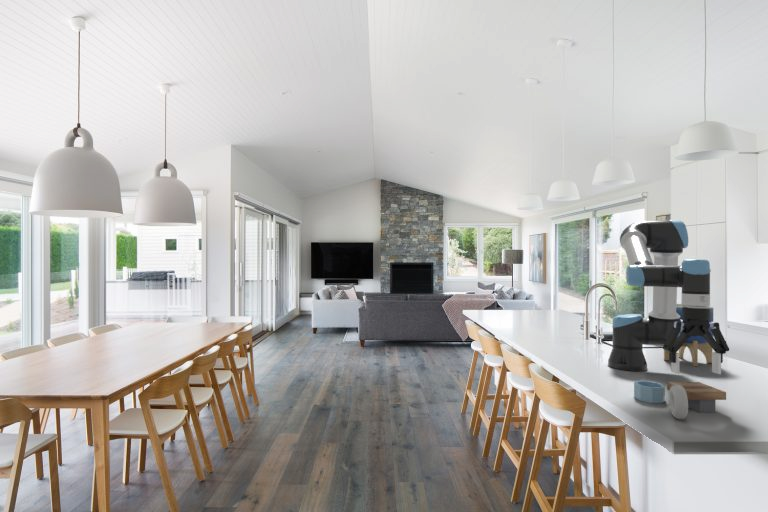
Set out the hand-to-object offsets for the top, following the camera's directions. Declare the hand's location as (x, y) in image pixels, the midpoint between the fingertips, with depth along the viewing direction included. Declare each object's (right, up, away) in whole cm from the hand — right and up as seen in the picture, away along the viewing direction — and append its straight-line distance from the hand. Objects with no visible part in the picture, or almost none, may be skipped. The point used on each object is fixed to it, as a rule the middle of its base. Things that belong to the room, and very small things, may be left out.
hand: (695, 373), depth 140 cm
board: (0, -7, 0) cm, 7 cm away
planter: (+42, -12, +64) cm, 77 cm away
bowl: (-10, -11, +8) cm, 17 cm away
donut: (-13, -11, -10) cm, 20 cm away
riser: (0, -11, 0) cm, 11 cm away
